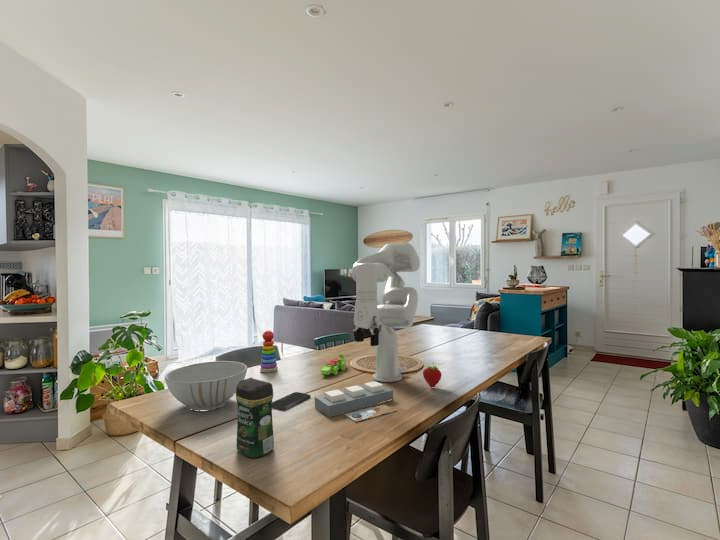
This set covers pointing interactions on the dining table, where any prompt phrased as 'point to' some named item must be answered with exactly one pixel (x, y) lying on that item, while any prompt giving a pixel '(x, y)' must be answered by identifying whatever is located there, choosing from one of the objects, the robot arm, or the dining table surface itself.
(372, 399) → the button board
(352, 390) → the middle button
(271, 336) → the stacking toy
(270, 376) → the dining table surface
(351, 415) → the pattern card
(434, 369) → the strawberry
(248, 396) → the coffee jar
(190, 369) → the decorative bowl
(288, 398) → the phone
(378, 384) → the button
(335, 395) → the button
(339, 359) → the toy crocodile
